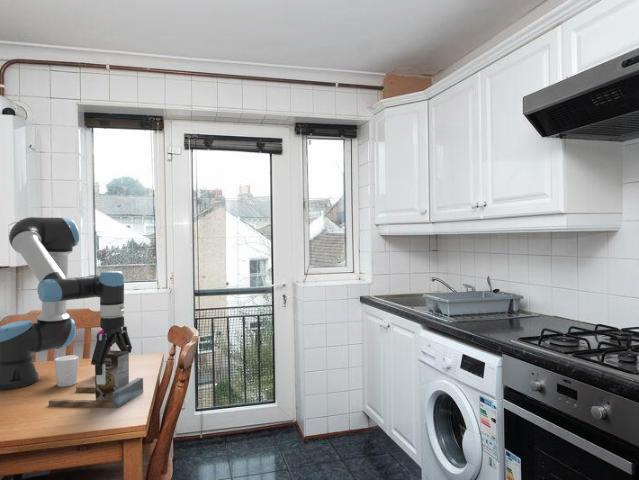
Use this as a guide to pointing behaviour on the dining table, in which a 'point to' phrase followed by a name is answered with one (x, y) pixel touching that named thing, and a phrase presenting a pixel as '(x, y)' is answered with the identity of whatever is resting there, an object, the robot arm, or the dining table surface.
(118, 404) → the guide channel
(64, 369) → the white cup
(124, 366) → the coffee box
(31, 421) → the dining table surface
